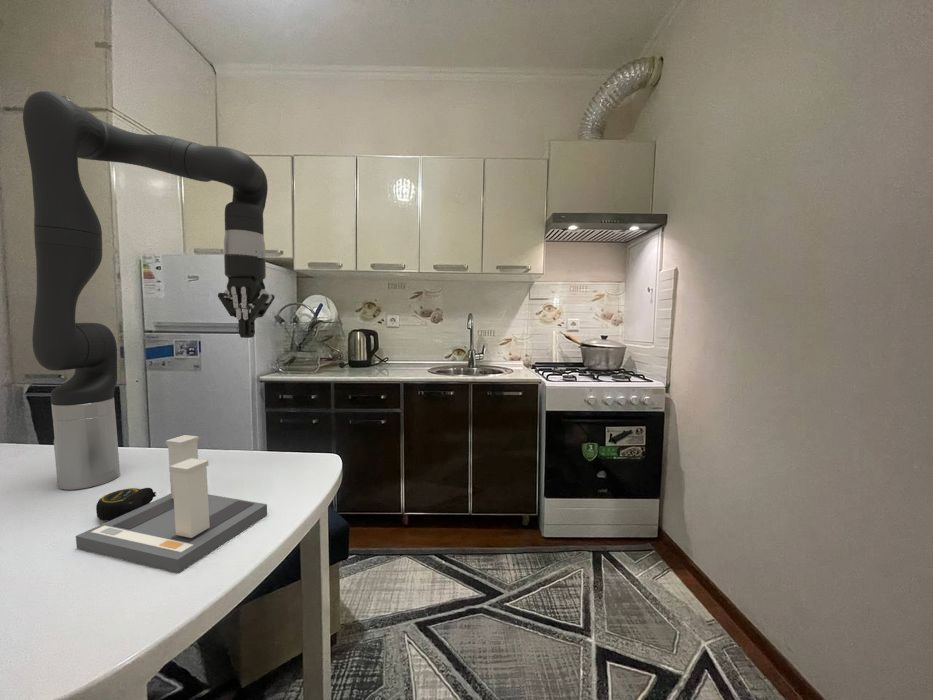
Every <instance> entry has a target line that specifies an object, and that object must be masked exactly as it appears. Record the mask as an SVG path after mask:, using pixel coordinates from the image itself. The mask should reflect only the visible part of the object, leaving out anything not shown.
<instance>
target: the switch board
mask: <svg viewBox="0 0 933 700" xmlns="http://www.w3.org/2000/svg"><path fill="white" fill-rule="evenodd" d="M208 505H209V523H210V527H209V528H208V529H206V530H204V531H203V532H201V533H199V534H197V535H196V536H194V537H192V538H189V537H184V536H179V535H176V528H175V512H174V499H173V498H171V493H168V494H167V495H165V496H163V497H160V498H158V499H156V500H155V499H154V500H152V501H151V502H150V503H149V504H147V505H144V506H142V507H140V508H138V509H135V510H133V511H131V512H129V513H126V514H124V515H122V516H120V517H117V518H115V519H113V520H111V521H105V522H104V523H102V524H99V525H97V526H95V527H92V528H91V529H89V530H86V531H84V532H82V533H80V534H77V535H75V543H76V549H77V550H81V551H85V552H89V553H94V554H98V555H101V556H102V555H103V556H106V557H109V558H113V559H118V560H122V561H126V562H131V563H134V564H139V565H142V566H146V567H151V568H154V569H159V570H163V571H167V572H171V573H176V574H180V573H181V572H184V570H186V569H187V568H189V567H191V566H192V565H193V564H195V563H197V562H198V561H199V560H200V561H201V559H202V558H204V557H206V556H207V555H208V554H210V553H211V552H213V551H215V550H216V549H218V548H219V547H221V546H222V545H223V544H226V543H228V541H230V540H232V539H233V538H235V537H236V536H237V535H239V534H241V533H243V532H244V531H245V530H246V529H248V528H250V527H252V526H253V525H255V524H256V523H257V522H259V521H260V520H262V519H264V518H265V517H267V516H268V504H267V503H261V502H257V501H249V500H246V499H237V498H232V497H226V496H219V495H215V494H209V493H208Z"/></svg>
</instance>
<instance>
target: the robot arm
mask: <svg viewBox="0 0 933 700" xmlns="http://www.w3.org/2000/svg"><path fill="white" fill-rule="evenodd" d="M22 123H23V132H24V137H25V142H26V147H27V152H28V159H29V164H30V170H31V183H32V195H33V209H34V210H33V211H34V216H33V217H34V219H33V220H34V221H33V232H34V235H33V236H34V249H35V263H36V265H35V266H36V270H35V271H36V296H35V298H36V299H35V305H34V307H35V308H34V316H33V317H34V318H33V327H32V337H31V338H32V339H31V340H32V349H33V354H34V357H35V359H36V361H37V363H38V364H39V365H40V366H42V367H43V368H45V369H46V370H48V371H56V372H57V371H59V372H60V371H67V370H74V374H73V376H71V377H70V379H68V380H67V381H65V382H64V383H62V384H60V385H59V386H57V387H55V388H53V389H52V390H51V392H50V403H51V415H52V422H53V423H52V424H53V425H52V426H53V435H54V437H53V438H54V439H53V447H54V449H53V450H54V460H55V470H56V481H57V484H58V489H59V488H60V489H61V490H66V491H67V490H68V491H70V490H79V489H80V490H81V489H86V488H87V489H88V488H92V487H96V486H99V485H102V484H105V483H108V482H111V481H113V480H115V479H117V478H119V476H120V475H121V473H120V472H121V470H120V469H121V468H120V457H119V455H120V454H119V443H118V431H117V419H116V418H117V417H116V408H115V407H116V406H115V389H116V386H117V383H118V347H117V346H118V344H117V341H116V337H115V334H114V333H113V331H112V330H111V328H109V327H108V326H106V325H104V324H102V323H97V322H76V309H77V303H78V300H79V297H80V295H81V292H82V291H83V290H84V288H85V287H86V286H87V284H88V283H89V282H90V280H91V279H92V278H93V276H94V274H95V273H96V272H97V270H98V269H99V267H100V266H101V262H102V260H103V231H102V225H101V222H100V220H99V218H98V215H97V213H96V211H95V209H94V206H93V205H92V203H91V201H90V199H89V197H88V195H87V193H86V191H85V189H84V187H83V184H82V181H81V178H80V177H81V176H80V172H79V163H78V162H79V160H78V159H83V160H90V161H98V162H99V161H100V162H109V163H110V162H111V163H121V164H126V165H127V164H128V165H133V166H138V167H143V168H148V169H151V170H154V171H159V172H162V173H166V174H170V175H174V176H177V177H182V178H185V179H189V180H193V181H198V182H205V183H208V182H211V181H213V182H217V183H222V184H225V185H227V186H230V187H231V188H232V200H231V202H228V203H227V204H226V205H225V208H224V238H223V257H224V258H223V259H224V260H223V261H224V263H223V264H224V275H225V277H227V279H228V281H227V283H226V289H225V290H224V291H223V292H218V294H217V297H218V300H219V301H220V302H221V304H222V305H223V307H224V308H225V309H226V312H227V313H228V314H229V316H230V317H233V318H236V319H237V322H238V334H239V337H240V338H241V339H242V338H244V339H248V338H249V339H250V338H254V335H255V334H256V329H255V328H256V327H255V325H256V324H255V322H256V321H257V319H259V318H263V317H264V315H265V314H266V312H267V311H268V309H269V308H270V306H271V305H272V303H274V300H275V299H276V298H275V297H276V296H275V294H272V293H269V292H268V291H267V290H266V286H265V283H264V280H265V279H266V274H267V273H266V271H267V270H266V264H267V263H266V243H265V237H264V230H265V229H264V211H265V207H266V202H267V197H268V189H269V187H268V179H267V175H266V173H265V171H264V169H263V168H262V167H261V166H260V165H259V164H258V163H257V162H256V161H254V160H253V158H251V156H249V155H248V154H246V153H244V152H242V151H240V150H237V149H234V148H230V147H226V146H225V147H224V146H215V145H204V144H200V143H197V142H192V141H189V140H186V139H182V138H179V137H178V138H177V137H174V136H169V135H162V134H142V133H136V132H131V131H127V130H125V129H123V128H120V127H117V126H115V125H112V124H110V123H108V122H106V121H103V120H101V119H99V118H98V117H97V116H95V115H94V114H93V113H92V112H90V111H88V110H86V109H85V108H83V107H81V106H80V105H78V104H76V103H74V102H72V101H71V100H69V99H67V98H66V97H64V96H62V95H60V94H57V93H55V92H52V91H47V90H40V91H36V92H34V93H32V94H30V96H29V97H28V98H27V99H26V101H25V103H24V106H23V109H22Z"/></svg>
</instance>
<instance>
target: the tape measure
mask: <svg viewBox="0 0 933 700" xmlns="http://www.w3.org/2000/svg"><path fill="white" fill-rule="evenodd" d="M156 493H157V491H154V490H153V488H152V487H144V488H135V487H134V488H133V487H131V488H125V489H119V490H115V491H112V492H109V493H108V494H105V495H103V496H101V498H99V499H98V501H97V503H96V505H95V508H96V509H95V510H96V512H95V513H96V517H97V519H98V520H100V521H103V522H108V521H111V520H113V519H115V518H117V517H120V516H122V515H124V514H126V513H129V512H131V511H133V510H135V509H138V508H140V507H142V506H144V505H147V504H149V503H151V502H153V501H154V500H153V499H154V498H155V497H156V496H157V494H156Z"/></svg>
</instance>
